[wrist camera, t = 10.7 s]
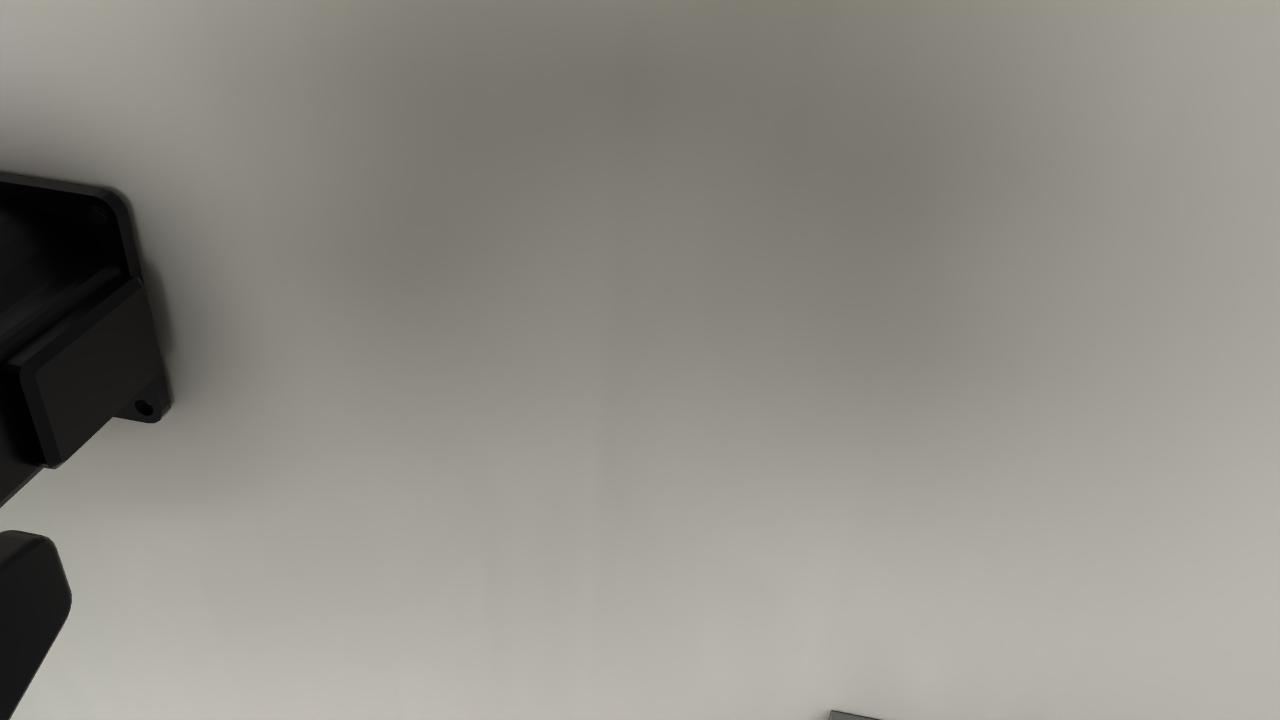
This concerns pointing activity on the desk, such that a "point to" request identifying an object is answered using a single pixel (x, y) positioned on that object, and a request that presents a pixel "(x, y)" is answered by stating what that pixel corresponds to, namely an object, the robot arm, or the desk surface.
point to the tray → (845, 716)
